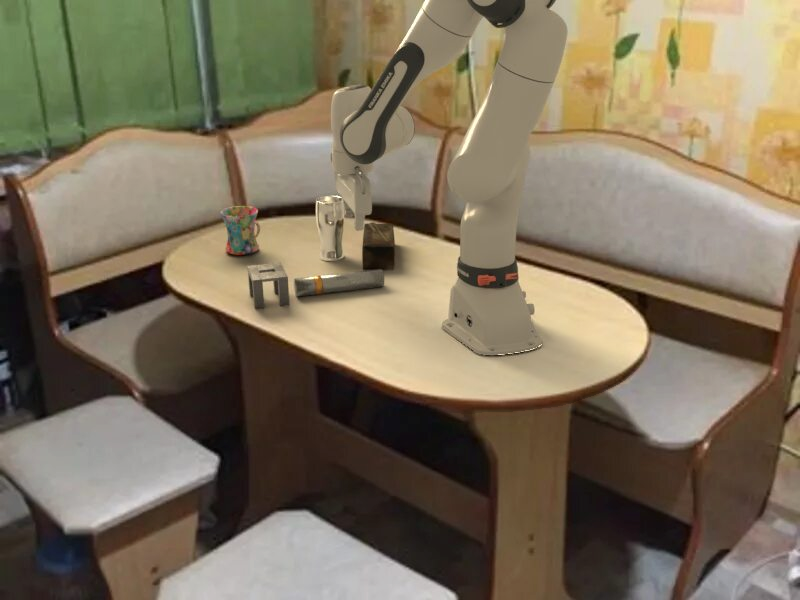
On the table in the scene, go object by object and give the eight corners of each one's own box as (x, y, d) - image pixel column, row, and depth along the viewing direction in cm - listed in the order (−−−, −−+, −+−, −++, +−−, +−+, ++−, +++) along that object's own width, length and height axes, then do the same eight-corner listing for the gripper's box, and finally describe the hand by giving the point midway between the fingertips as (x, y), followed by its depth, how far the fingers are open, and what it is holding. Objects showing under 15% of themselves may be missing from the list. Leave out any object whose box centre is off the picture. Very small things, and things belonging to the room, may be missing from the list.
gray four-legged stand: (289, 305, 193) (287, 276, 191) (255, 309, 192) (252, 280, 189) (282, 290, 201) (280, 262, 199) (249, 293, 199) (247, 266, 197)
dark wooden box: (394, 244, 230) (394, 220, 227) (395, 271, 212) (395, 245, 210) (363, 244, 230) (363, 220, 227) (362, 271, 212) (361, 246, 210)
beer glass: (347, 252, 224) (345, 195, 218) (343, 262, 217) (341, 203, 211) (320, 252, 224) (317, 194, 218) (315, 261, 218) (312, 203, 212)
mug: (216, 252, 225) (212, 212, 221) (245, 242, 231) (241, 203, 227) (246, 263, 218) (243, 221, 213) (275, 253, 224) (272, 212, 220)
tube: (379, 283, 205) (379, 266, 204) (384, 289, 201) (384, 272, 200) (294, 293, 200) (293, 275, 198) (297, 299, 196) (296, 281, 195)
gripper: (379, 172, 182) (379, 236, 187) (356, 149, 200) (357, 208, 205) (348, 175, 180) (350, 239, 186) (328, 151, 198) (330, 210, 204)
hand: (353, 222), depth 196 cm, fingers open, 8 cm apart
